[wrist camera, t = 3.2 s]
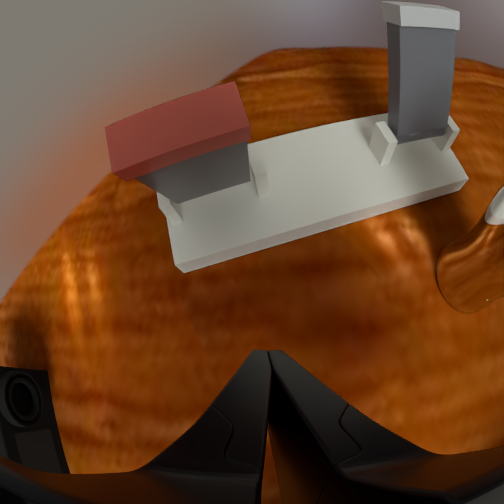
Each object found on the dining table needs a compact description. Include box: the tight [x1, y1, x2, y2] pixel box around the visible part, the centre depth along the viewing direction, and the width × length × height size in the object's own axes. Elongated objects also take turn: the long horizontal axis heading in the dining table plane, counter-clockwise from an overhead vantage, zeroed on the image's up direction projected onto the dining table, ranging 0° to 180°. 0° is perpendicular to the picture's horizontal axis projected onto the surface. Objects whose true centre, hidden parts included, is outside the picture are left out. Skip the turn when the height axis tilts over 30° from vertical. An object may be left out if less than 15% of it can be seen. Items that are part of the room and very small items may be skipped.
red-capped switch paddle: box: [105, 81, 251, 204], centre depth 16 cm, size 2×5×11 cm, turn 105°
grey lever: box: [381, 1, 459, 144], centre depth 17 cm, size 2×5×11 cm, turn 105°
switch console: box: [156, 113, 469, 273], centre depth 22 cm, size 8×24×5 cm, turn 105°
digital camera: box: [0, 366, 70, 474], centre depth 17 cm, size 10×5×7 cm, turn 13°
